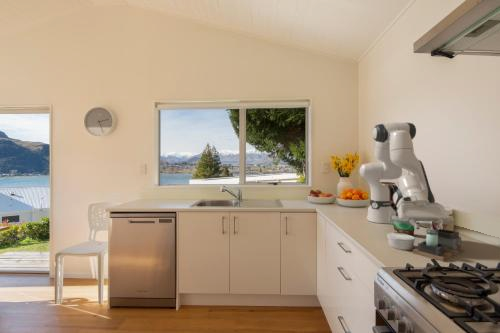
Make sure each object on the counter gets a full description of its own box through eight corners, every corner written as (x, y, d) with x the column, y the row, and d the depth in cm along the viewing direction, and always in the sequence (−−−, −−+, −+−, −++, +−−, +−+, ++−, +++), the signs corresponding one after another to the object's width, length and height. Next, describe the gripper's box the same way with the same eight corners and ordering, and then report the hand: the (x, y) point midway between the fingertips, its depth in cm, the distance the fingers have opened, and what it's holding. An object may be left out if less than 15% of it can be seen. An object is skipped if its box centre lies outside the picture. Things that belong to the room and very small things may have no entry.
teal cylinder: (428, 249, 111) (428, 228, 111) (439, 251, 108) (439, 230, 108) (424, 250, 109) (424, 230, 109) (435, 253, 105) (435, 232, 105)
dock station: (435, 243, 123) (435, 227, 123) (463, 250, 114) (464, 232, 114) (412, 253, 110) (413, 234, 110) (442, 261, 101) (443, 241, 101)
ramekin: (414, 245, 121) (414, 234, 120) (415, 253, 111) (415, 241, 111) (387, 241, 126) (387, 231, 126) (386, 248, 117) (386, 237, 116)
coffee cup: (426, 238, 132) (427, 215, 132) (439, 236, 135) (440, 214, 134) (445, 244, 123) (445, 219, 123) (458, 242, 126) (459, 218, 126)
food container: (393, 235, 137) (393, 216, 137) (391, 232, 143) (391, 214, 143) (420, 237, 133) (420, 218, 133) (416, 234, 139) (416, 216, 139)
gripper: (438, 207, 121) (451, 233, 111) (392, 206, 123) (402, 231, 114) (444, 199, 116) (458, 226, 107) (397, 198, 119) (407, 224, 109)
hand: (429, 228), depth 110 cm, fingers open, 8 cm apart
